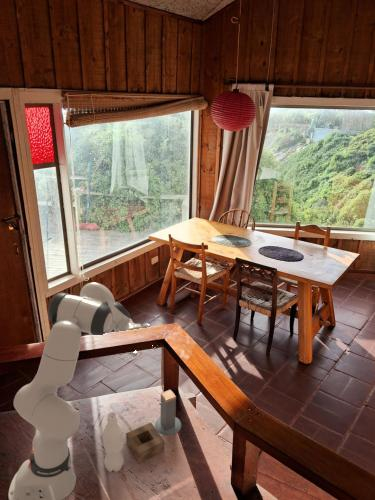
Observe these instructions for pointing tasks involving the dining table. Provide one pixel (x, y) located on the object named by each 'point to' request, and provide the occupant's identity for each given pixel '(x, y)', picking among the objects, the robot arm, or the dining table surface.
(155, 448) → the block
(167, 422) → the plug peg
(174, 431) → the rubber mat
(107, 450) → the water bottle
